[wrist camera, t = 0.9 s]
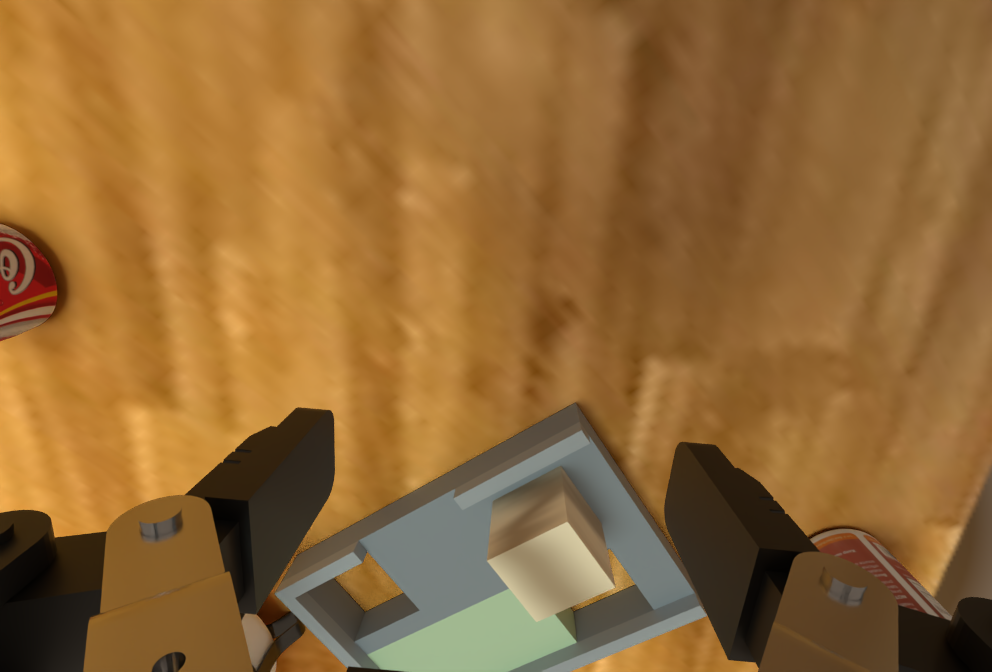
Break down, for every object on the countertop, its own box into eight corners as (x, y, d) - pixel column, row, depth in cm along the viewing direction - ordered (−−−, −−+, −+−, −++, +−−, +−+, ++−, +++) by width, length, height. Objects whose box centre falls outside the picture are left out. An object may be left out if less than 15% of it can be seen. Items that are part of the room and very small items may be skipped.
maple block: (560, 465, 30) (567, 521, 25) (601, 523, 31) (615, 587, 26) (492, 500, 31) (487, 561, 26) (534, 555, 32) (536, 622, 27)
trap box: (575, 402, 31) (581, 430, 28) (689, 573, 35) (707, 615, 31) (297, 555, 36) (274, 594, 33) (422, 688, 40) (413, 735, 37)
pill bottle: (777, 589, 35) (886, 770, 24) (802, 519, 33) (933, 684, 22) (864, 599, 35) (1012, 786, 24) (895, 530, 33) (1071, 700, 22)
